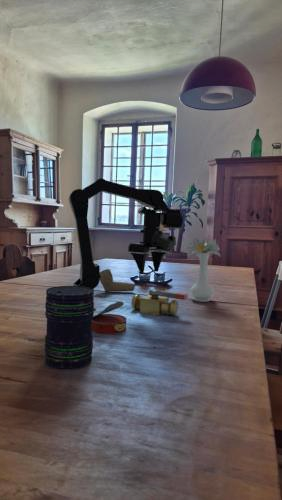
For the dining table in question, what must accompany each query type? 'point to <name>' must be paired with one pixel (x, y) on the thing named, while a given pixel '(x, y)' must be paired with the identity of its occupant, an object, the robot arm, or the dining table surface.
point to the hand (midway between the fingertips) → (149, 272)
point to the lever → (168, 294)
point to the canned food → (109, 321)
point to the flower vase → (203, 268)
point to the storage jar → (69, 327)
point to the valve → (155, 305)
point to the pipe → (114, 283)
